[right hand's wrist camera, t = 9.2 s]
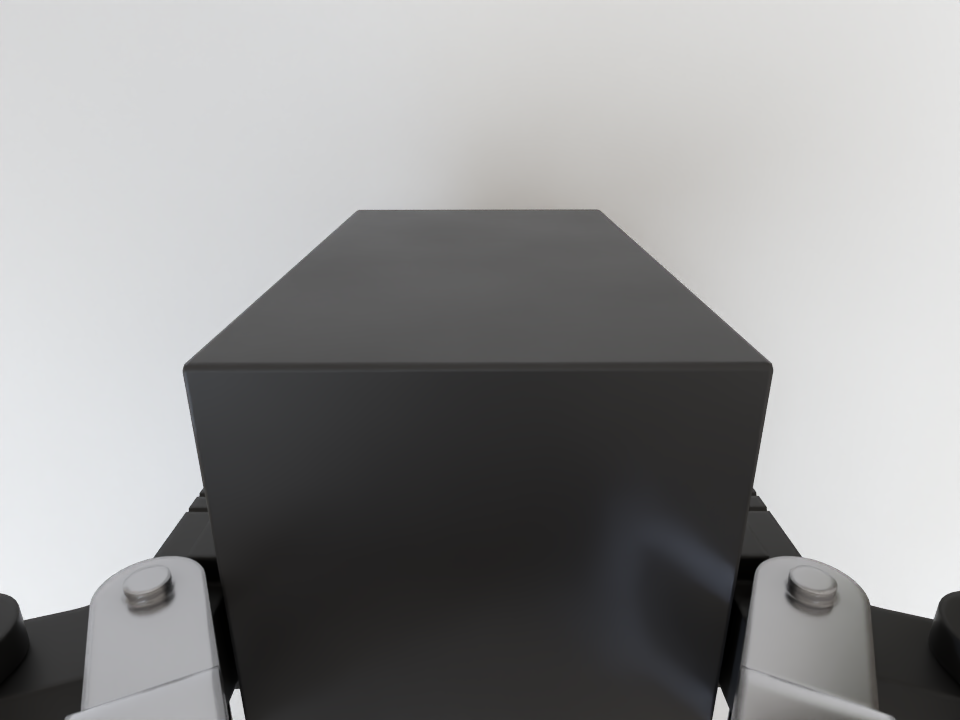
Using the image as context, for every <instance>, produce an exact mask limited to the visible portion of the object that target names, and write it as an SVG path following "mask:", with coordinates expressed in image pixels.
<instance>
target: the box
mask: <svg viewBox="0 0 960 720" xmlns="http://www.w3.org/2000/svg"><path fill="white" fill-rule="evenodd" d="M772 375H773V367H772V363H771V362H769V361H768V360H767V359H766V358H765V357H764V356H763V355H762V354H760V353H759V352H758V351H757V350H756V349H755V348H754V347H753V346H751V345H750V344H749V343H748V342H747V341H746V340H745V339H744V338H742V337H741V336H740V335H739V334H738V333H737V332H736V331H735V330H733V329H732V328H731V327H730V326H729V325H728V324H727V323H726V322H724V321H723V320H722V319H721V318H720V317H719V316H718V315H717V314H715V313H714V312H713V311H712V310H711V309H710V308H709V307H708V306H707V305H705V304H704V303H703V302H702V301H701V300H700V299H699V298H698V297H696V296H695V295H694V294H693V293H692V292H691V291H690V290H689V289H687V288H686V287H685V286H684V285H683V284H682V283H681V282H680V281H678V280H677V279H676V278H675V277H674V276H673V275H672V274H671V273H669V272H668V271H667V270H666V269H665V268H664V267H663V266H662V265H660V264H659V263H658V262H657V261H656V260H655V259H654V258H653V257H651V256H650V255H649V254H648V253H647V252H646V251H645V250H644V249H642V248H641V247H640V246H639V245H638V244H637V243H636V242H635V241H633V240H632V239H631V238H630V237H629V236H628V235H627V234H626V233H624V232H623V231H622V230H621V229H620V228H619V227H618V226H617V225H615V224H614V223H613V222H612V221H611V220H610V219H609V218H608V217H607V216H605V215H604V214H603V213H602V212H601V211H600V210H358V211H356V212H355V213H354V214H353V215H352V216H351V217H350V218H349V219H347V220H346V221H345V222H344V223H343V224H342V225H341V226H340V227H338V228H337V229H336V230H335V231H334V232H333V233H332V234H331V235H329V236H328V237H327V238H326V239H325V240H324V241H323V242H322V243H320V244H319V245H318V246H317V247H316V248H315V249H314V250H313V251H311V252H310V253H309V254H308V255H307V256H306V257H305V258H304V259H302V260H301V261H300V262H299V263H298V264H297V265H296V266H295V267H293V268H292V269H291V270H290V271H289V272H288V273H287V274H286V275H284V276H283V277H282V278H281V279H280V280H279V281H278V282H277V283H275V284H274V285H273V286H272V287H271V288H270V289H269V290H268V291H266V292H265V293H264V294H263V295H262V296H261V297H260V298H259V299H257V300H256V301H255V302H254V303H253V304H252V305H251V306H250V307H248V308H247V309H246V310H245V311H244V312H243V313H242V314H241V315H239V316H238V317H237V318H236V319H235V320H234V321H233V322H232V323H230V324H229V325H228V326H227V327H226V328H225V329H224V330H223V331H221V332H220V333H219V334H218V335H217V336H216V337H215V338H214V339H212V340H211V341H210V342H209V343H208V344H207V345H206V346H205V347H203V348H202V349H201V350H200V351H199V352H198V353H197V354H196V355H194V356H193V357H192V358H191V359H190V360H189V361H188V362H187V363H185V364H184V368H183V376H184V381H185V387H186V392H187V398H188V403H189V409H190V415H191V420H192V426H193V431H194V437H195V442H196V448H197V453H198V459H199V464H200V470H201V476H202V481H203V487H204V492H205V498H206V503H207V509H208V514H209V520H210V525H211V531H212V537H213V542H214V548H215V553H216V559H217V564H218V570H219V575H220V581H221V586H222V592H223V598H224V603H225V609H226V614H227V620H228V625H229V631H230V636H231V642H232V647H233V653H234V658H235V664H236V670H237V675H238V681H239V686H240V692H241V697H242V703H243V708H244V714H245V719H246V720H712V717H713V711H714V705H715V700H716V694H717V688H718V683H719V677H720V671H721V666H722V660H723V654H724V648H725V643H726V637H727V631H728V626H729V620H730V614H731V609H732V603H733V597H734V591H735V586H736V580H737V574H738V569H739V563H740V557H741V552H742V546H743V540H744V534H745V529H746V523H747V517H748V512H749V506H750V500H751V494H752V489H753V483H754V477H755V472H756V466H757V460H758V455H759V449H760V443H761V437H762V432H763V426H764V420H765V415H766V409H767V403H768V398H769V392H770V386H771V380H772Z"/></svg>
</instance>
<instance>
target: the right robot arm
mask: <svg viewBox="0 0 960 720" xmlns="http://www.w3.org/2000/svg"><path fill="white" fill-rule="evenodd" d="M718 687H721V689H722V692H723V694H724V697H725V699H726V701H727V704H728V706H729V713H728V719H727V720H960V591H957V592H952V593H950V594H947V595H946V596H944V597H943V598H942V599H941V601H940V602H939V605H938V608H937V611H936V614H935V617H934V620H933V619H929V618H924V617H920V616H915V615H910V614H906V613H901V612H896V611H892V610H887V609H883V608H879V607H875V606H871V605H870V603H869V599H868V597H867V595H866V593H865V592H864V591H863V589H862V588H861V587H860V586H859V585H858V584H857V583H856V582H855V581H854V580H853V579H851V578H850V577H849V576H847V575H846V574H844V573H843V572H841V571H839V570H838V569H836V568H834V567H832V566H829V565H827V564H824V563H822V562H819V561H816V560H812V559H808V558H803V557H802V556H801V555H800V554H799V552H798V551H797V549H796V548H795V547H794V545H793V544H792V542H791V541H790V539H789V538H788V537H787V535H786V534H785V532H784V531H783V530H782V528H781V527H780V525H779V524H778V523H777V521H776V520H775V518H774V517H773V515H772V514H771V513H770V511H767V507H766V506H765V504H764V503H763V501H762V500H761V499H760V497H759V496H756V491H755V490H754V489H752V494H751V500H750V506H749V512H748V517H747V523H746V529H745V534H744V540H743V546H742V552H741V557H740V563H739V569H738V574H737V580H736V586H735V591H734V597H733V603H732V609H731V614H730V620H729V626H728V631H727V637H726V643H725V648H724V654H723V660H722V666H721V671H720V677H719V683H718ZM234 689H240V686H239V681H238V675H237V670H236V664H235V658H234V653H233V647H232V642H231V636H230V631H229V625H228V620H227V614H226V609H225V603H224V598H223V592H222V586H221V581H220V575H219V570H218V564H217V559H216V553H215V548H214V542H213V537H212V531H211V525H210V520H209V514H208V509H207V503H206V498H205V492H204V488H203V489H202V491H201V492H200V496H199V497H197V498H196V499H195V501H194V502H193V503H192V505H191V506H190V508H189V512H186V513H185V514H184V516H183V517H182V519H181V520H180V521H179V523H178V524H177V526H176V527H175V528H174V530H173V531H172V533H171V534H170V535H169V537H168V538H167V540H166V541H165V542H164V544H163V545H162V547H161V548H160V549H159V551H158V552H157V554H156V555H155V556H154V558H152V559H148V560H144V561H141V562H138V563H136V564H133V565H131V566H128V567H126V568H124V569H122V570H121V571H119V572H117V573H116V574H114V575H113V576H111V577H110V578H109V579H107V580H106V581H105V582H104V583H103V584H102V585H101V586H100V587H99V588H98V589H97V591H96V592H95V593H94V595H93V597H92V599H91V603H90V605H88V606H85V607H82V608H78V609H74V610H70V611H65V612H61V613H56V614H51V615H47V616H42V617H37V618H33V619H28V620H23V617H22V614H21V611H20V608H19V605H18V603H17V602H16V600H15V599H13V598H12V597H10V596H8V595H5V594H1V593H0V720H233V719H232V713H231V708H230V703H229V701H230V698H231V696H232V694H233V691H234Z"/></svg>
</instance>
